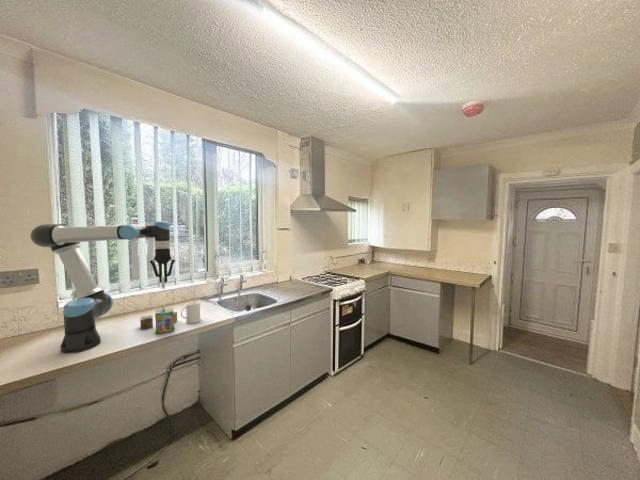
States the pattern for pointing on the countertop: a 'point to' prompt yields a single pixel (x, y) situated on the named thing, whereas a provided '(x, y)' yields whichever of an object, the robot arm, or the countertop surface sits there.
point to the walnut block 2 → (175, 316)
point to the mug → (192, 312)
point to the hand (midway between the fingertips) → (163, 288)
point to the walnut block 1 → (146, 322)
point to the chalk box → (164, 320)
